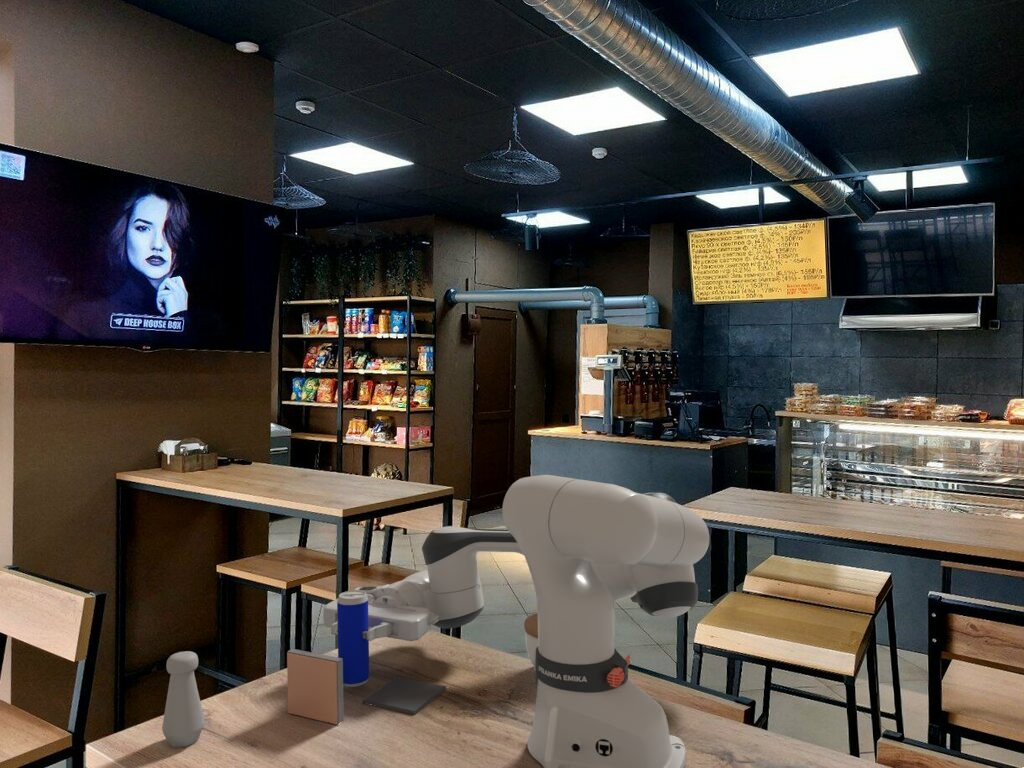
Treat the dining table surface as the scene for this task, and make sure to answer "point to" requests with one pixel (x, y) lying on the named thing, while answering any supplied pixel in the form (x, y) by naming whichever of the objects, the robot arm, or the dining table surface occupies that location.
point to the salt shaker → (182, 702)
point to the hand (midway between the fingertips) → (349, 633)
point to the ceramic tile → (315, 686)
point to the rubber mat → (405, 695)
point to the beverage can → (353, 637)
